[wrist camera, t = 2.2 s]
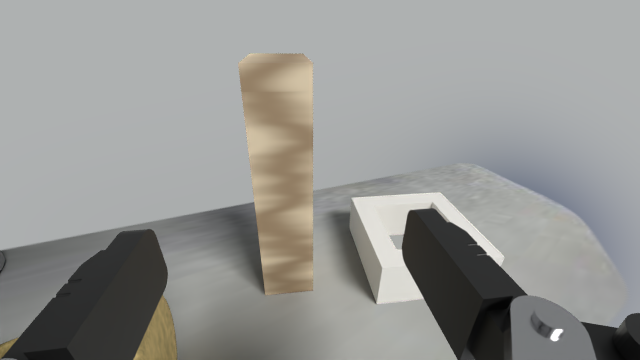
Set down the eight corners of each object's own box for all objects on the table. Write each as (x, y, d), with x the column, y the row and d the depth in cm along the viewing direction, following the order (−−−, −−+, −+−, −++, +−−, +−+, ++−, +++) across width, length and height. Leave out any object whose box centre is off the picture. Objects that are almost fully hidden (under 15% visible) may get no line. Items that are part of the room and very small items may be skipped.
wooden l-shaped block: (265, 295, 23) (238, 63, 15) (267, 240, 29) (249, 53, 21) (312, 290, 24) (312, 63, 15) (305, 237, 30) (302, 53, 21)
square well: (376, 304, 23) (382, 268, 21) (349, 228, 31) (351, 197, 30) (489, 291, 24) (504, 256, 22) (432, 221, 33) (440, 192, 31)
